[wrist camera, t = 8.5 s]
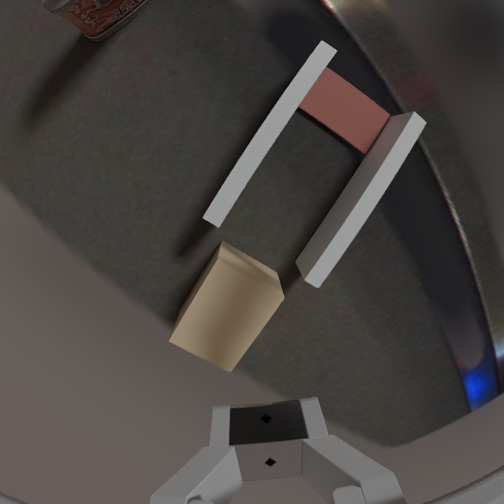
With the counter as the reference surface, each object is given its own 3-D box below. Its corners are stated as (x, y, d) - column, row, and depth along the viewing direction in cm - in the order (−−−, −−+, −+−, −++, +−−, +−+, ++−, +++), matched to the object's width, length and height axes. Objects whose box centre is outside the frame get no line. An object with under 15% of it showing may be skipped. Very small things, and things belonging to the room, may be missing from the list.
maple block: (180, 310, 26) (168, 341, 22) (221, 240, 25) (217, 259, 20) (231, 337, 27) (230, 372, 22) (276, 272, 26) (284, 297, 21)
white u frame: (208, 208, 24) (202, 217, 20) (309, 57, 21) (321, 40, 17) (307, 269, 25) (318, 288, 22) (401, 126, 22) (426, 122, 19)
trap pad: (297, 106, 22) (298, 106, 22) (325, 67, 21) (326, 66, 21) (363, 154, 23) (365, 154, 23) (388, 115, 22) (390, 115, 22)
